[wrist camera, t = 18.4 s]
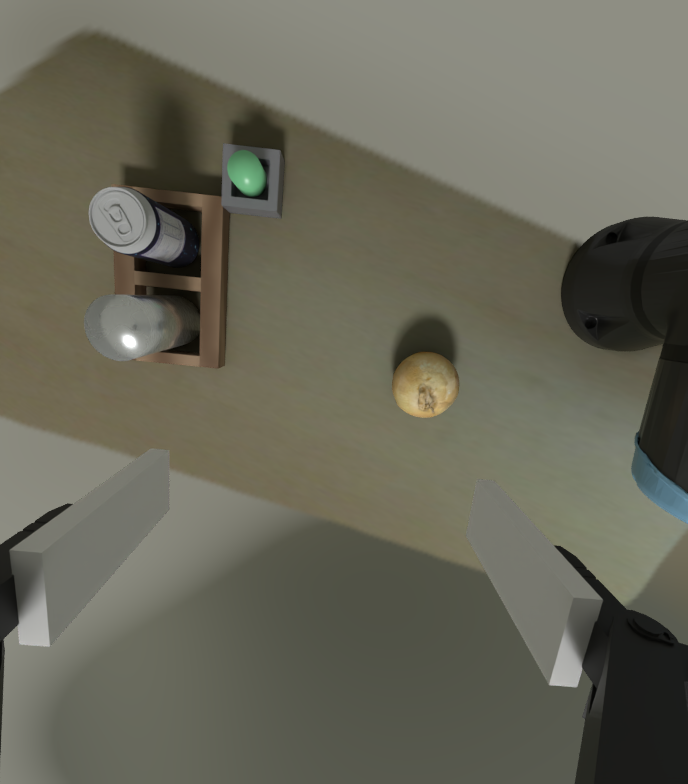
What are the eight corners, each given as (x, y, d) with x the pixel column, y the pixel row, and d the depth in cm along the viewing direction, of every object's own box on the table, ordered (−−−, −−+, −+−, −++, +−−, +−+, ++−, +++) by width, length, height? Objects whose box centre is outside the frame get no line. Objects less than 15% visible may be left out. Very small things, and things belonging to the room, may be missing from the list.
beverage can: (187, 209, 42) (128, 169, 30) (210, 256, 43) (162, 236, 32) (145, 229, 43) (70, 198, 31) (168, 276, 44) (106, 263, 32)
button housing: (284, 161, 41) (280, 150, 38) (281, 218, 42) (276, 211, 39) (231, 155, 41) (223, 143, 38) (229, 212, 42) (221, 205, 39)
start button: (268, 164, 39) (262, 152, 36) (266, 198, 40) (260, 189, 37) (236, 160, 39) (227, 148, 36) (235, 194, 40) (226, 185, 37)
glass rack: (229, 203, 42) (223, 196, 40) (224, 365, 46) (218, 368, 44) (124, 191, 42) (111, 184, 39) (129, 355, 46) (116, 358, 43)
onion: (383, 357, 46) (390, 365, 39) (444, 342, 46) (463, 348, 39) (396, 416, 48) (405, 434, 41) (455, 402, 48) (475, 418, 41)
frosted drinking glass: (203, 300, 44) (152, 301, 32) (199, 348, 46) (148, 366, 34) (153, 291, 44) (84, 288, 32) (151, 340, 45) (84, 354, 34)
